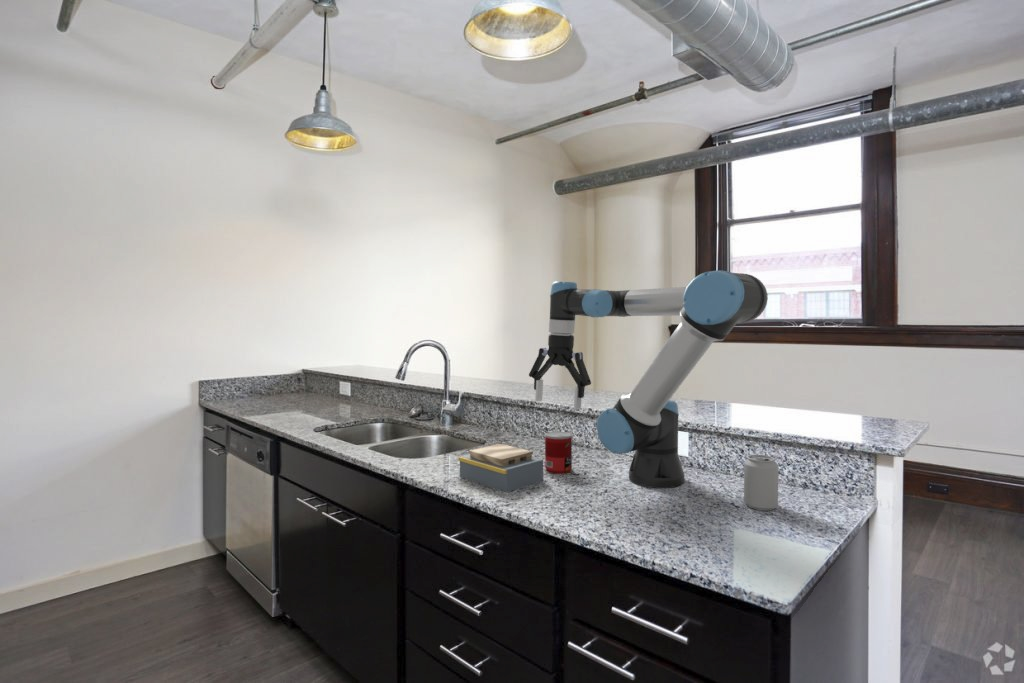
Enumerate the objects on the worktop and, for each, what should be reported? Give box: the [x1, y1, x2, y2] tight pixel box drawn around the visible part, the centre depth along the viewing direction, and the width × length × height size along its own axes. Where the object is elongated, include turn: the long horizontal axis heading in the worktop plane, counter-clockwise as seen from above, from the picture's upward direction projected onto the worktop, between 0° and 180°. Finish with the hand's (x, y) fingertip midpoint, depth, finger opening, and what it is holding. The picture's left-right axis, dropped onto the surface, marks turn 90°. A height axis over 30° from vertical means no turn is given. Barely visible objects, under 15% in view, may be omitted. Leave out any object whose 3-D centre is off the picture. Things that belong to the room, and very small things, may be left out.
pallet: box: [468, 443, 534, 466], centre depth 152 cm, size 14×12×2 cm
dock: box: [457, 453, 544, 493], centre depth 152 cm, size 20×15×6 cm
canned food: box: [544, 431, 573, 475], centre depth 160 cm, size 8×8×11 cm
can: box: [743, 454, 779, 512], centre depth 128 cm, size 8×8×12 cm
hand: (557, 404), depth 159 cm, fingers open, 13 cm apart
